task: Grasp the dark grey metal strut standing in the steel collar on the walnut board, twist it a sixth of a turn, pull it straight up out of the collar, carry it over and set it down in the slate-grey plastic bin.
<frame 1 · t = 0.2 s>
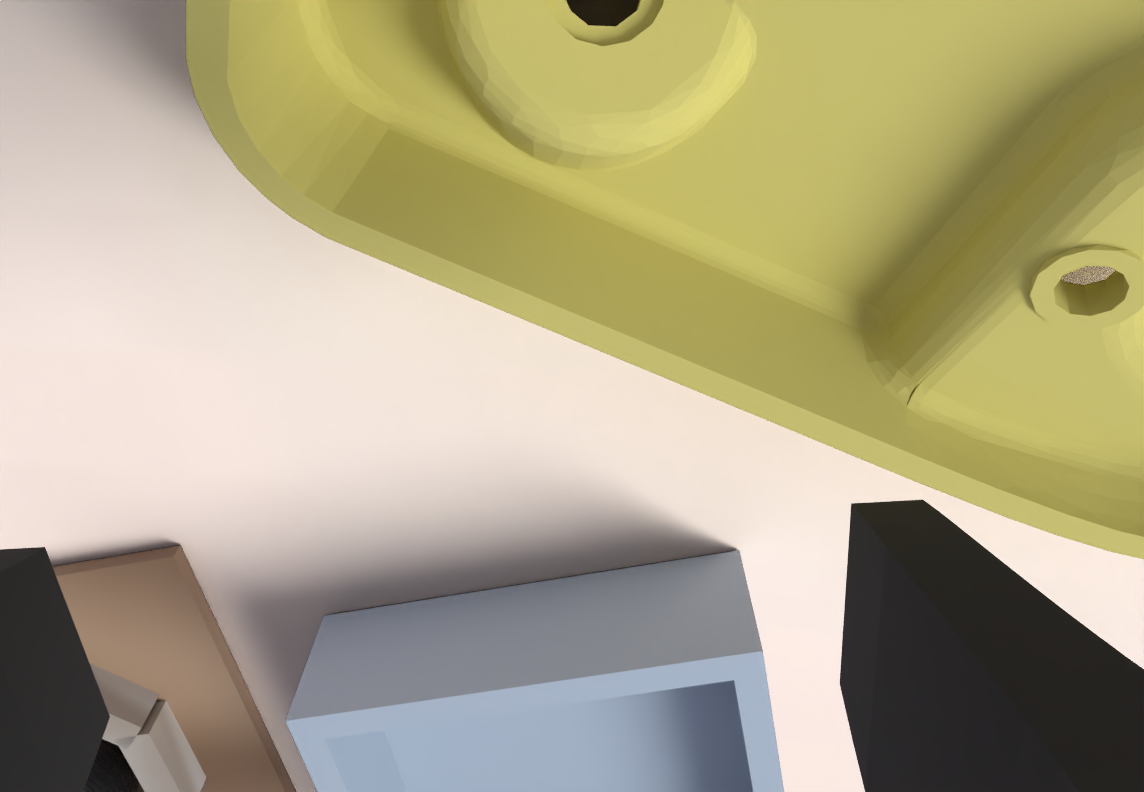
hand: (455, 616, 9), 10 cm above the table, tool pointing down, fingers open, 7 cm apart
stud plate: (63, 745, 24), on the table
strut: (55, 758, 23), resting on stud plate
plastic component: (872, 48, 17), on the table
bin: (569, 737, 23), on the table
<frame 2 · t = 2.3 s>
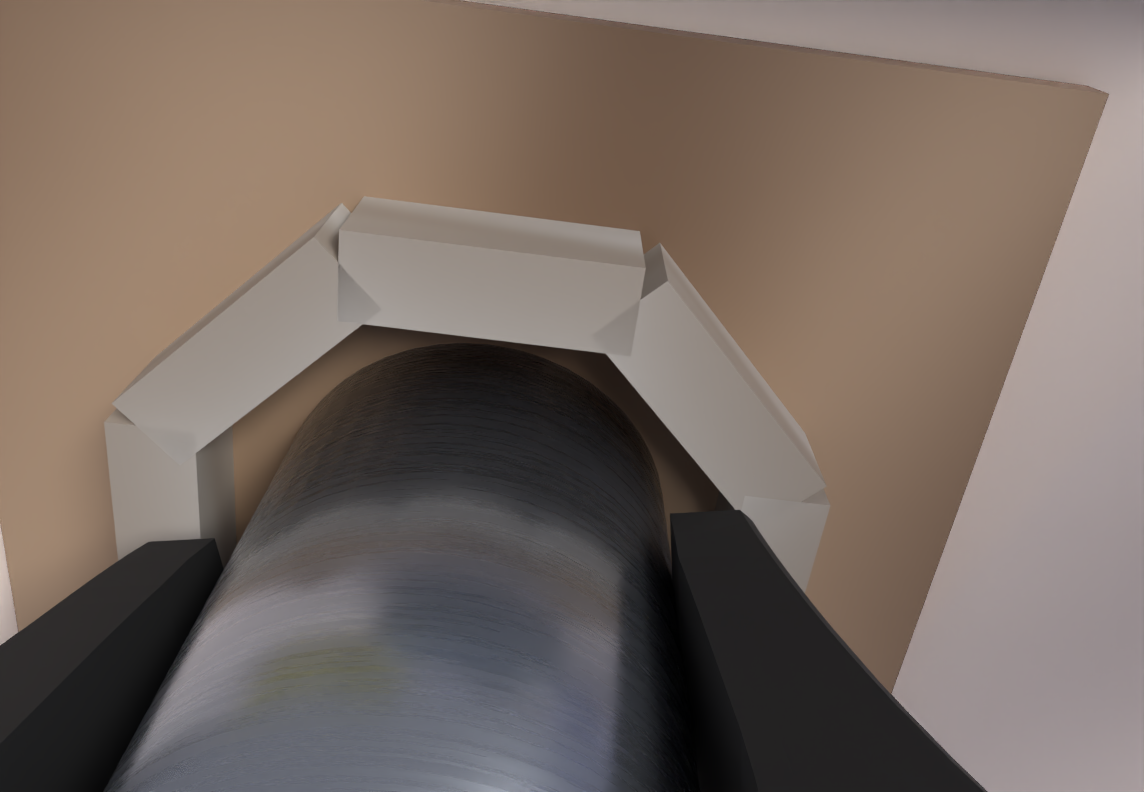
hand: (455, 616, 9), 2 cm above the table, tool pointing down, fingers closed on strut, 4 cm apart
stud plate: (477, 496, 11), on the table
strut: (473, 516, 10), resting on stud plate, touching gripper
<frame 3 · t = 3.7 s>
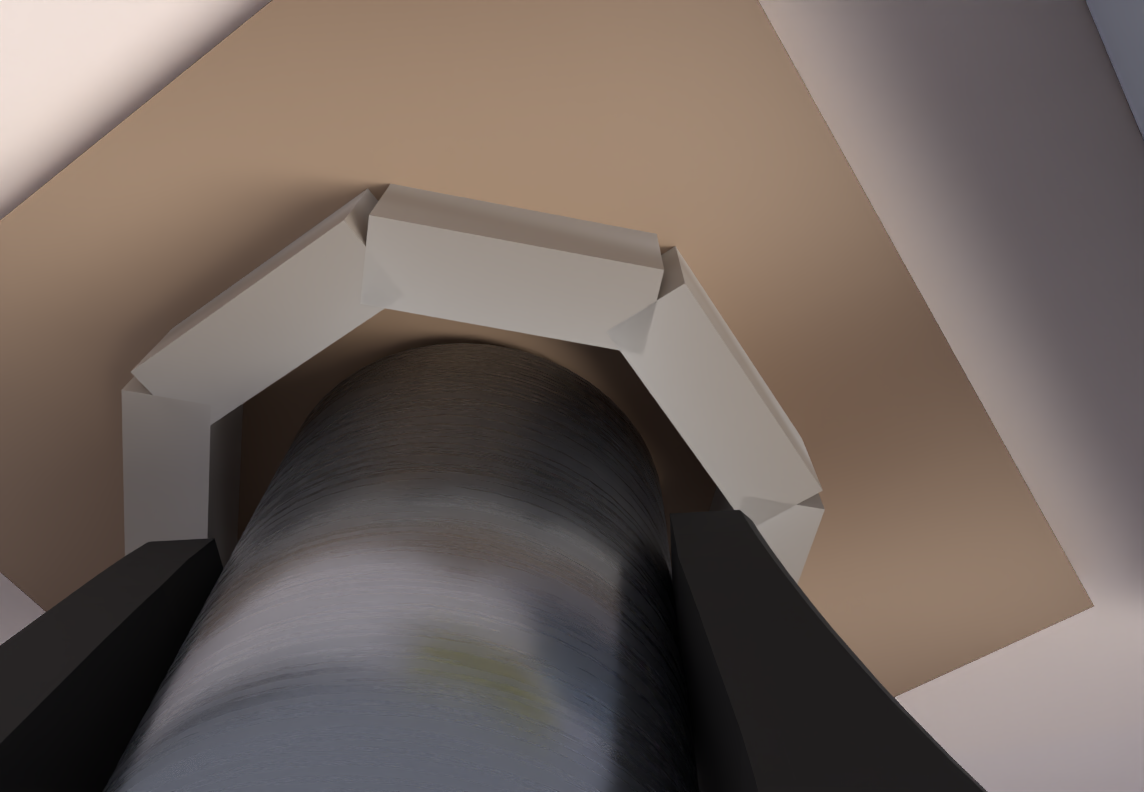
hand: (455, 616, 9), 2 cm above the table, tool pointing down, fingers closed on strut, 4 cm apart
stud plate: (477, 483, 11), on the table
strut: (473, 516, 10), point 1 cm above the table, touching gripper
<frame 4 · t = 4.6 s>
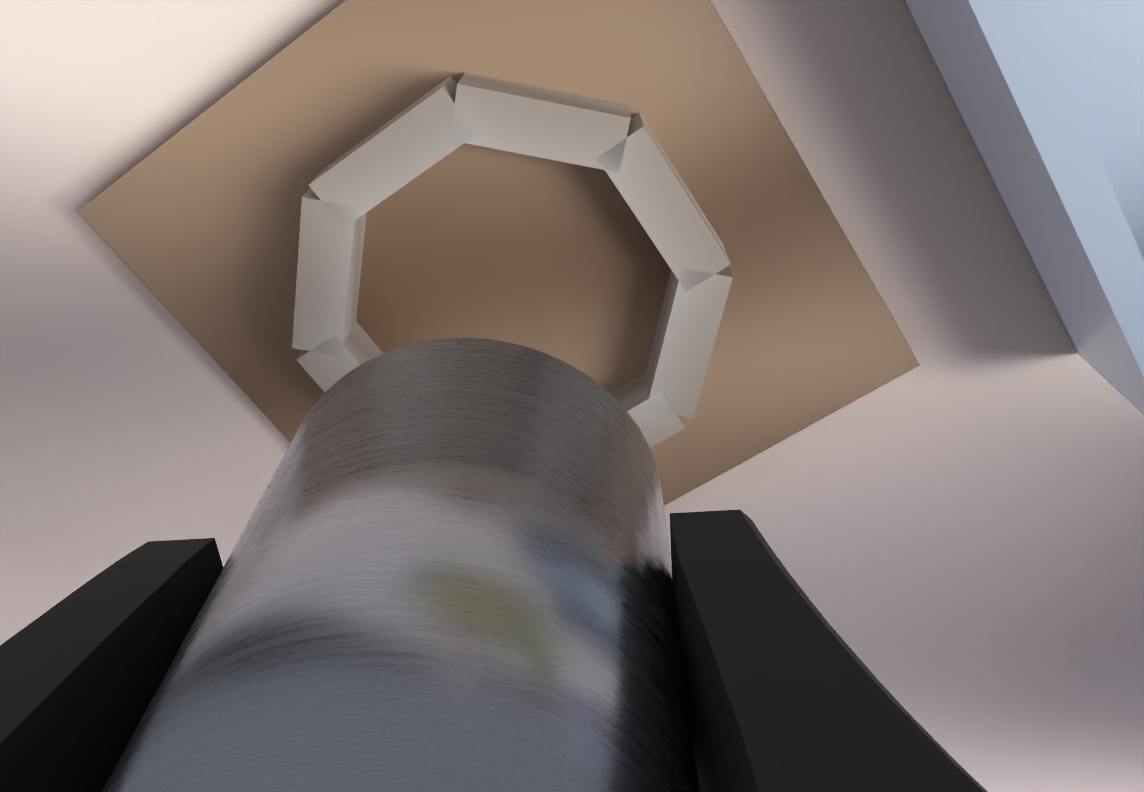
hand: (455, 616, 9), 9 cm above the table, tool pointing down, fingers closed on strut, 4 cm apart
stud plate: (513, 282, 17), on the table
strut: (474, 510, 10), point 7 cm above the table, touching gripper
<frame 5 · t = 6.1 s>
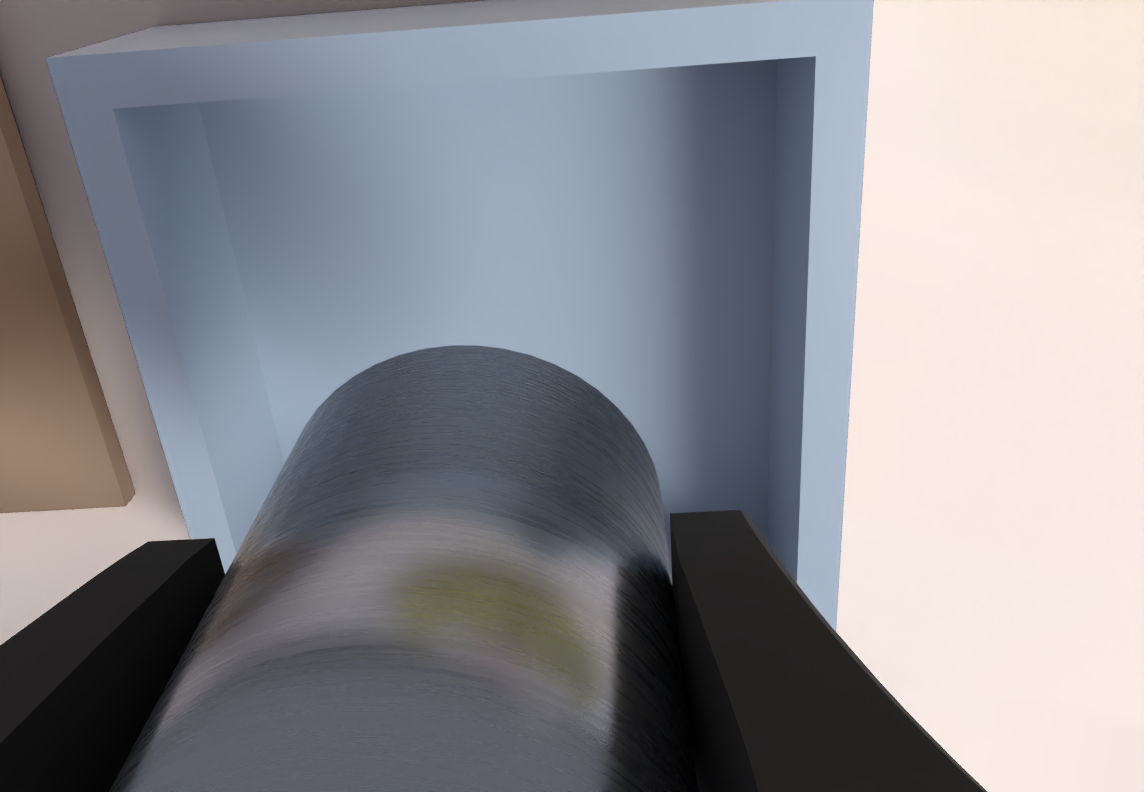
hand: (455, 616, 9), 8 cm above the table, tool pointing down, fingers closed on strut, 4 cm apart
strut: (474, 517, 10), point 6 cm above the table, touching gripper
bin: (512, 310, 16), on the table
when the fingers open (3 cm above the table, at t = 7.2 s): strut drops 1 cm, resting on bin.
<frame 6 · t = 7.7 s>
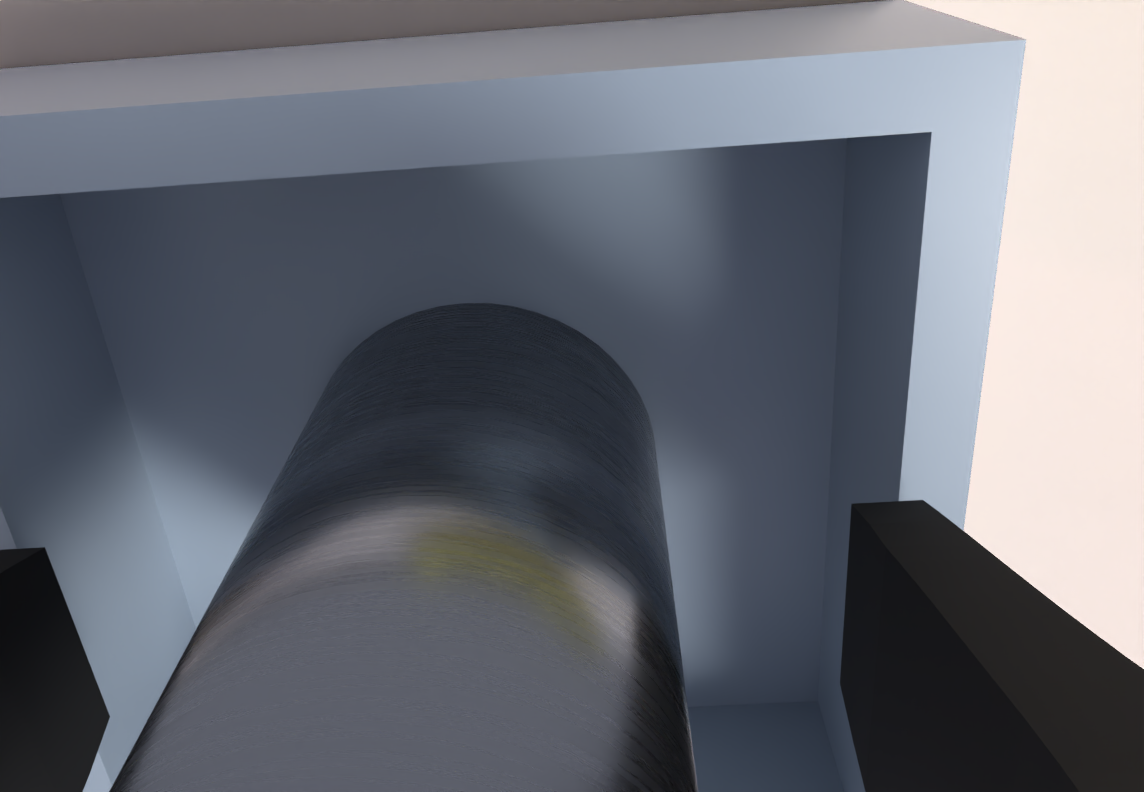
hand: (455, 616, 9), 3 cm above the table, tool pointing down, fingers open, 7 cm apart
strut: (484, 462, 11), point 1 cm above the table, touching bin
bin: (489, 433, 12), on the table
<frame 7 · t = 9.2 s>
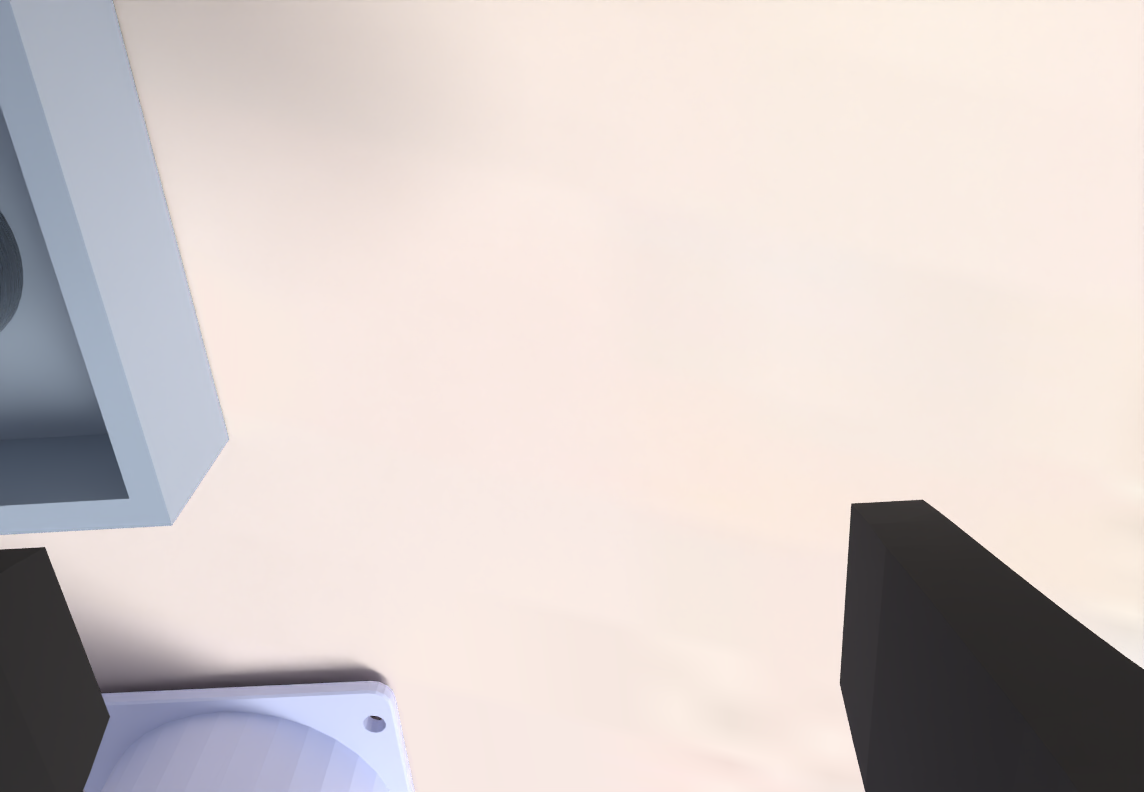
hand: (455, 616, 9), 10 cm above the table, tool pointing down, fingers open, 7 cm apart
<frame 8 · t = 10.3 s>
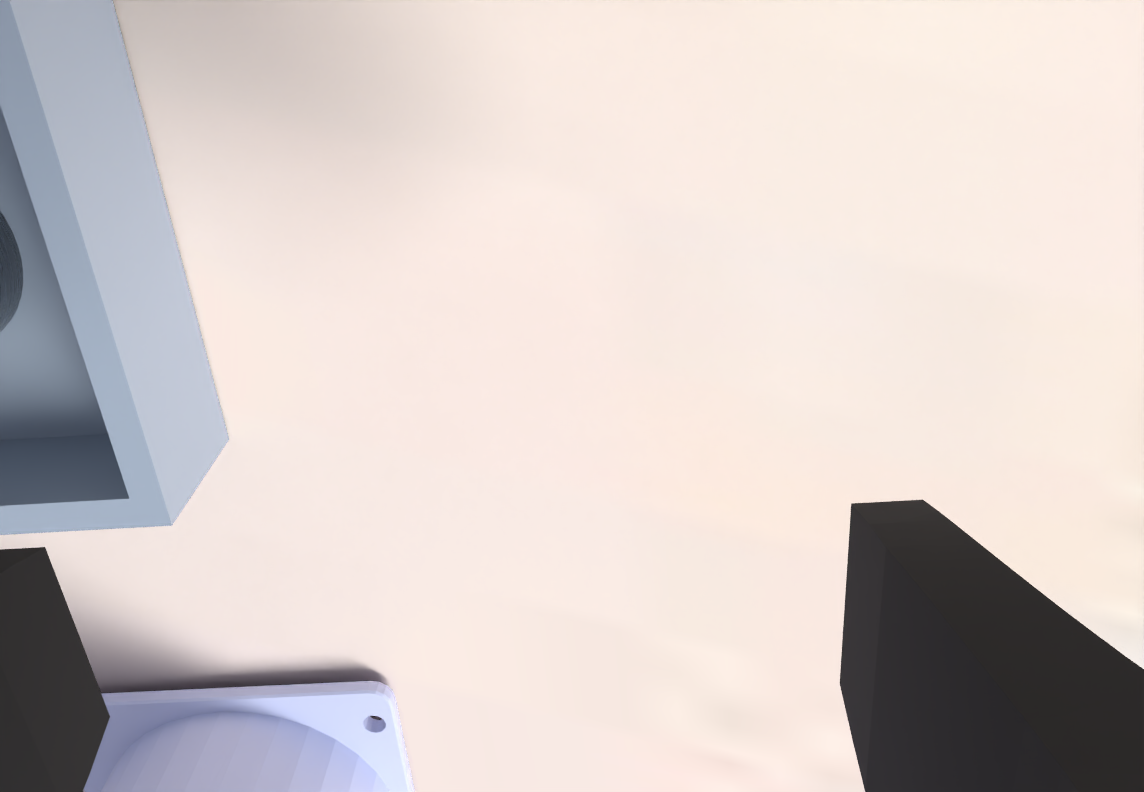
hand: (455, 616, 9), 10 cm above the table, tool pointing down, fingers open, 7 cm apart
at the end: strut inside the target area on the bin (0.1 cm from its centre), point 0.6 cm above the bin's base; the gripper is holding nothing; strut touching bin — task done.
